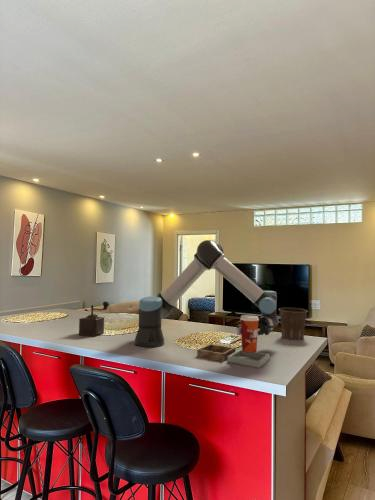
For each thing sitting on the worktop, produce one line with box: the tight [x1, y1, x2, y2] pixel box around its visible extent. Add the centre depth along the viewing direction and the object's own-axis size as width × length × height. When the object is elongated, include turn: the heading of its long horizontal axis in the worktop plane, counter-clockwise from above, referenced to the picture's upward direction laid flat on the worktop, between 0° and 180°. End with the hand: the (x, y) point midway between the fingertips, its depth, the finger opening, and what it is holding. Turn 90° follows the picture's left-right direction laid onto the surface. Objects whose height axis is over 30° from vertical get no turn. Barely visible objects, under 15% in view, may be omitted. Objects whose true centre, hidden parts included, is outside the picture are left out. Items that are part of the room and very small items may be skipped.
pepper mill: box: [78, 301, 110, 338], centre depth 197 cm, size 16×11×18 cm
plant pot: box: [278, 307, 309, 341], centre depth 198 cm, size 16×16×16 cm
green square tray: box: [227, 349, 271, 369], centre depth 148 cm, size 14×14×2 cm
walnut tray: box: [196, 343, 236, 362], centre depth 156 cm, size 13×13×3 cm
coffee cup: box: [239, 314, 259, 353], centre depth 148 cm, size 8×8×15 cm
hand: (245, 333), depth 144 cm, fingers closed on coffee cup, 7 cm apart
